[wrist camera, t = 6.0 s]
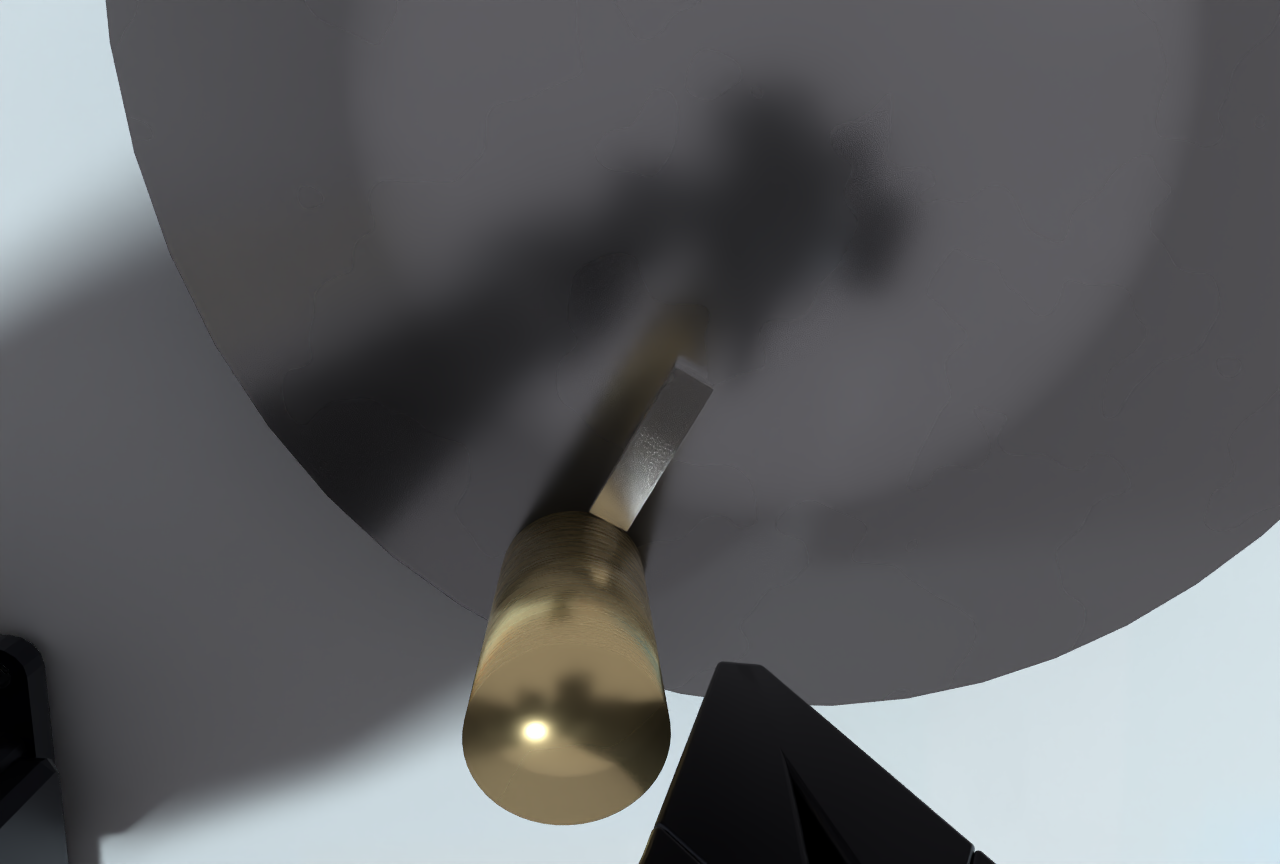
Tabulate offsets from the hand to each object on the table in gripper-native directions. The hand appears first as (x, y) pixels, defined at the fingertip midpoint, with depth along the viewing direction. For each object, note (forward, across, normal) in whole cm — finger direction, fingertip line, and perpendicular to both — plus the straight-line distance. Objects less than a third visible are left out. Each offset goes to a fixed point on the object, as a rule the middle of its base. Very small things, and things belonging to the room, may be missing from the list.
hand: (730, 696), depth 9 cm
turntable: (+3, -1, -7) cm, 8 cm away
